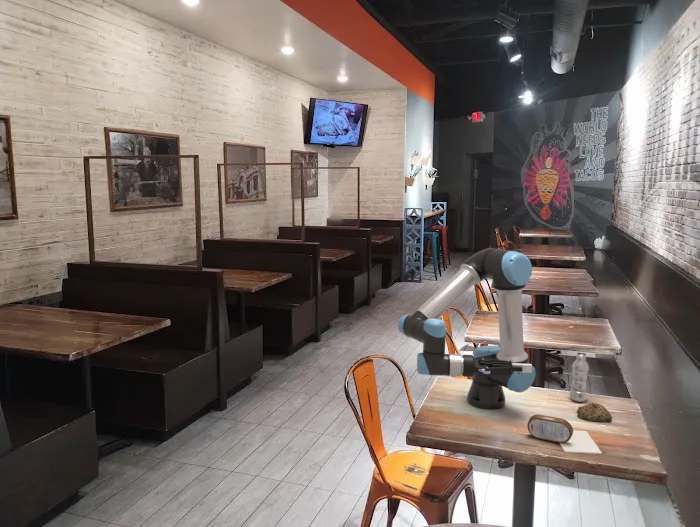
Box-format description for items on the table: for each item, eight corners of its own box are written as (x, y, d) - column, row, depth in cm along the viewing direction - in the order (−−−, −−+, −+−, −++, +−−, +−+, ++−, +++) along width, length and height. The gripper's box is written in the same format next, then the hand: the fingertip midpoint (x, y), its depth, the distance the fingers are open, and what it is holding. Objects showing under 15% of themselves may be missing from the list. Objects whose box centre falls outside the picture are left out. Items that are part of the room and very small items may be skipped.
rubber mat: (564, 452, 187) (564, 451, 187) (552, 430, 203) (552, 429, 202) (601, 454, 186) (602, 452, 186) (586, 432, 202) (586, 430, 201)
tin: (573, 442, 192) (573, 419, 191) (571, 446, 190) (571, 423, 188) (528, 433, 200) (528, 411, 199) (526, 437, 197) (526, 415, 196)
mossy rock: (613, 425, 208) (614, 412, 207) (578, 420, 211) (579, 408, 211) (607, 411, 220) (608, 399, 219) (574, 407, 224) (575, 395, 223)
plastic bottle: (585, 398, 232) (588, 352, 229) (587, 404, 225) (591, 357, 222) (568, 396, 234) (572, 350, 230) (570, 402, 227) (573, 355, 224)
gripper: (459, 369, 200) (526, 372, 198) (463, 382, 187) (535, 385, 185) (460, 349, 199) (527, 351, 197) (464, 361, 186) (536, 364, 184)
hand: (531, 368), depth 191 cm, fingers closed
